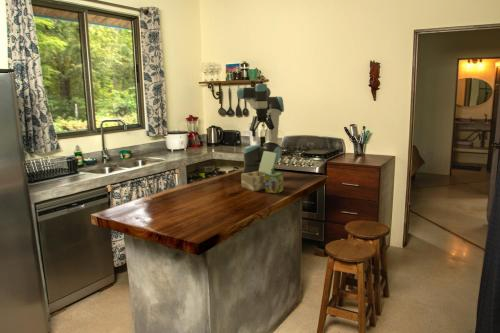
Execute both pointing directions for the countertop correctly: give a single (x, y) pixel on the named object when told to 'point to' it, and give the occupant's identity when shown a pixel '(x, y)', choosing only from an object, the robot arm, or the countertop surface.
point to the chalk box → (273, 182)
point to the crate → (253, 181)
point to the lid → (267, 161)
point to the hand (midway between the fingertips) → (262, 140)
